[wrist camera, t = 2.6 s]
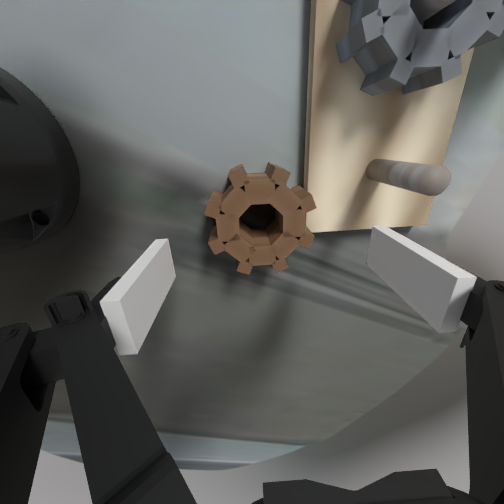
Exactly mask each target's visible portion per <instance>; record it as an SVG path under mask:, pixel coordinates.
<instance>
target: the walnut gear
mask: <svg viewBox="0 0 504 504" xmlns="http://www.w3.org/2000/svg"><path fill="white" fill-rule="evenodd" d="M289 175H290V172H288V171H287V170H285V169H283V168H281V167H279V166H277V165H274V164H271V163H269V162H268V165H267V168H266V171H265V173H253V174H246V172H245V169H244V167H243V165H242V164H241V165H239V166H237V167H235V168H233V169H231V170H230V172H229V176H228V177H229V179H230V181H231V183H232V184H231V185H230V186H229V187H228V188H227V190H226V191H225V192H224V193H221V192H218V191H215V190H213V192H212V194H211V196H210V198H209V200H208V203H207V206H206V210H205V213H204V215H205V216H208V217H212V218H215V219H216V225H214V226H213V228H212V231H211V235H210V238H209V241H208V244H209V246H210V248H211V249H212V251H213V253H214V254H215V255H216V254H218V253H220V252H223V251H226V252H228V253H229V254H230V255H231V256H233V257H234V258H235V259H237V271H238V272H241V273H245V274H248V275H250V272H251V270H252V267H253V266H258V265H273V267H274V269H275V271H276V273H277V272H280V271H282V270H284V269H287V268H289V267H288V265H287V262H286V260H285V258H286V257H287V256H288V255H289V254H290V253H292V252H293V251H294V250H295V249H296V248H297V247H298V246H302V247H305V248H308V249H309V247H310V245H311V243H312V241H313V239H314V237H315V236H314V235H313V233H312V232H311V231H310V230H309V229H308V227H307V226H306V225H305V216H306V213H307V212H309V211H312V210H314V209H316V208H317V207H316V205H315V202H314V199H313V196H312V194H311V193H309V192H308V191H306V190H305V189H303V188H302V187H301V186H299V185H298V186H295V187H293V188H291V189H289V188H288V187H287V186H286V183H287V180H288V178H289ZM255 204H271V205H272V206H273V207H274V208H275V219H274V220H273V221H272V222H271V223H270V224H269V225H268V226H267V227H266V228H264V229H250V228H248V227H247V226H246V225H245V224H244V223H242V222H241V221H240V220H239V217H240V216H241V215H242V214H243V213H244V212H245V211H246V210H247V209H248V207H249V206H250V205H255Z"/></svg>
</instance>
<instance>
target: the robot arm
mask: <svg viewBox="0 0 504 504" xmlns="http://www.w3.org/2000/svg"><path fill="white" fill-rule="evenodd" d="M78 195H79V174H78V168H77V163H76V160H75V156H74V153H73V150H72V148H71V145H70V143H69V141H68V139H67V137H66V135H65V133H64V131H63V130H62V128H61V126H60V125H59V123H58V122H57V120H56V119H55V117H54V116H53V115H52V113H51V112H50V111H49V109H48V108H47V107H46V106H45V105H44V103H43V102H42V101H41V100H40V99H39V98H38V97H37V96H36V95H35V94H34V93H33V92H32V91H31V90H30V89H29V88H28V87H26V86H25V85H24V84H23V83H22V82H20V81H19V80H18V79H17V78H15V77H14V76H12V75H11V74H10V73H8V72H7V71H5V70H4V69H2V68H0V251H6V250H13V249H18V248H21V247H25V246H28V245H31V244H33V243H35V242H37V241H39V240H41V239H43V238H45V237H48V236H50V235H51V234H53V233H55V232H56V231H58V230H59V229H60V228H61V227H63V226H64V225H65V223H66V222H67V221H68V220H69V218H70V217H71V215H72V213H73V211H74V209H75V207H76V204H77V200H78ZM366 264H367V265H368V266H369V267H370V268H371V269H372V270H373V271H374V272H375V273H376V274H377V275H378V276H379V277H380V278H381V279H382V280H384V281H385V282H386V283H387V284H388V285H389V286H390V287H391V288H392V289H393V290H394V291H395V292H396V293H397V294H398V295H399V296H400V297H402V298H403V299H404V300H405V301H406V302H407V303H408V304H409V305H410V306H411V307H412V308H413V309H414V310H415V311H416V312H417V313H418V314H420V315H421V316H422V317H423V318H424V319H425V320H426V321H427V322H428V323H429V324H430V325H431V326H432V327H433V328H434V329H435V330H436V331H438V332H439V333H443V332H456V330H457V328H458V325H459V323H460V320H461V321H463V322H464V323H465V324H466V325H468V328H467V330H466V333H465V335H464V337H463V340H462V343H461V345H460V347H461V348H463V347H464V345H466V374H467V404H468V435H469V463H470V464H469V465H470V491H469V494H467V493H465V492H463V491H460V490H457V489H454V488H452V487H449V486H446V484H445V482H444V481H443V479H442V477H441V476H440V474H439V472H438V471H437V469H428V470H414V471H402V472H394V473H392V474H390V475H388V476H386V477H384V478H382V479H380V480H378V481H376V482H374V483H372V484H370V485H368V486H366V487H364V488H362V489H360V490H356V491H352V490H347V489H343V488H339V487H335V486H331V485H326V484H323V483H318V482H315V481H310V480H306V479H304V480H292V481H279V482H267V483H263V495H264V499H263V498H261V499H259V500H257V501H255V502H253V503H252V504H504V281H497V280H492V281H491V280H490V281H485V280H483V279H481V278H480V277H478V276H476V275H474V274H472V273H471V272H468V271H467V270H464V269H463V268H461V267H460V266H457V265H456V264H454V263H452V262H451V261H449V260H446V259H444V258H442V257H440V256H438V255H437V254H435V253H433V252H431V251H429V250H428V249H426V248H424V247H422V246H420V245H419V244H417V243H415V242H413V241H411V240H410V239H408V238H406V237H404V236H402V235H401V234H399V233H397V232H395V231H393V230H392V229H390V228H388V227H386V226H384V225H383V226H373V227H372V233H371V239H370V245H369V251H368V257H367V263H366ZM175 277H176V275H175V270H174V265H173V260H172V255H171V251H170V246H169V241H168V239H156V240H155V241H154V242H153V243H152V244H151V245H150V246H149V248H148V249H147V250H146V251H145V252H144V253H143V254H142V255H141V256H140V258H139V259H138V260H137V261H136V262H135V263H134V264H133V265H132V266H131V268H130V269H129V270H128V271H127V272H126V273H125V274H124V275H123V276H122V277H117V278H116V279H114V280H112V281H111V282H109V283H108V284H107V285H106V286H105V287H104V288H103V290H101V291H100V292H99V293H98V295H96V296H95V297H94V298H93V300H92V301H91V302H90V300H89V297H88V295H87V293H86V292H85V291H79V290H78V291H71V292H67V293H64V294H61V295H59V296H57V297H55V298H53V299H51V300H50V301H49V302H47V303H46V304H45V306H44V310H45V312H46V314H47V316H48V318H49V320H50V322H51V324H52V326H53V327H52V328H48V329H44V330H40V331H36V332H33V331H32V329H31V328H30V326H29V325H28V324H26V323H18V324H13V325H10V326H7V327H3V328H0V504H28V500H29V496H30V492H31V487H32V483H33V478H34V474H35V470H36V466H37V461H38V457H39V453H40V448H41V444H42V440H43V435H44V431H45V427H46V422H47V418H48V414H49V409H50V405H51V401H52V396H53V392H54V388H55V383H56V381H57V380H61V379H64V378H65V383H66V387H67V392H68V396H69V401H70V405H71V410H72V414H73V418H74V423H75V427H76V432H77V436H78V441H79V445H80V450H81V454H82V459H83V463H84V468H85V472H86V476H87V481H88V485H89V490H90V494H91V499H92V503H93V504H197V503H196V501H195V499H194V497H193V495H192V494H191V492H190V490H189V488H188V486H187V484H186V482H185V480H184V478H183V476H182V475H181V473H180V471H179V469H178V467H177V465H176V463H175V461H174V460H173V458H172V456H171V455H170V453H167V451H166V449H165V448H164V446H163V444H162V442H161V440H160V438H159V436H158V434H157V432H156V430H155V428H154V426H153V424H152V422H151V420H150V419H149V417H148V415H147V413H146V411H145V409H144V407H143V405H142V403H141V401H140V399H139V397H138V395H137V393H136V391H135V389H134V387H133V386H132V384H131V382H130V380H129V378H128V376H127V374H126V372H125V370H124V368H123V366H122V364H121V362H120V360H119V358H118V356H117V355H116V353H115V351H114V349H113V348H114V347H115V345H116V348H117V350H118V353H119V355H130V354H138V352H139V350H140V348H141V346H142V344H143V342H144V340H145V338H146V336H147V334H148V332H149V330H150V328H151V326H152V324H153V322H154V320H155V318H156V316H157V313H158V311H159V309H160V307H161V305H162V303H163V301H164V299H165V297H166V295H167V293H168V291H169V289H170V287H171V285H172V283H173V281H174V279H175Z"/></svg>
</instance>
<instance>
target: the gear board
mask: <svg viewBox="0 0 504 504" xmlns="http://www.w3.org/2000/svg"><path fill="white" fill-rule="evenodd" d="M502 3H503V0H311V12H310V37H309V61H308V86H307V111H306V136H305V160H304V185H303V189H305V190H306V191H308V192H309V193H311V194H312V196H313V199H314V202H315V205H316V207H317V208H316V209H314V210H312V211H309V212H307V213H306V216H305V225H306V226H307V227H308V229H309V230H310V231H311V232H312V233H313V232H328V231H343V230H359V229H372V227H373V226H383V225H384V226H386V227H388V228H389V227H405V226H420V225H427V222H428V218H429V215H430V211H431V207H432V204H433V200H434V196H436V195H438V194H440V193H442V192H443V191H444V190H445V189H446V188H447V187H448V185H449V183H450V180H451V173H450V170H449V169H448V168H447V167H445V166H443V163H444V159H445V155H446V152H447V148H448V144H449V141H450V137H451V133H452V129H453V126H454V122H455V118H456V115H457V111H458V107H459V103H460V100H461V96H462V92H463V89H464V85H465V81H466V77H467V74H468V70H469V66H470V63H471V59H472V55H473V51H474V48H475V47H476V46H479V45H481V44H484V43H486V42H489V41H491V40H494V39H496V38H499V37H500V35H501V34H502V32H503V30H504V5H502Z"/></svg>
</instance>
